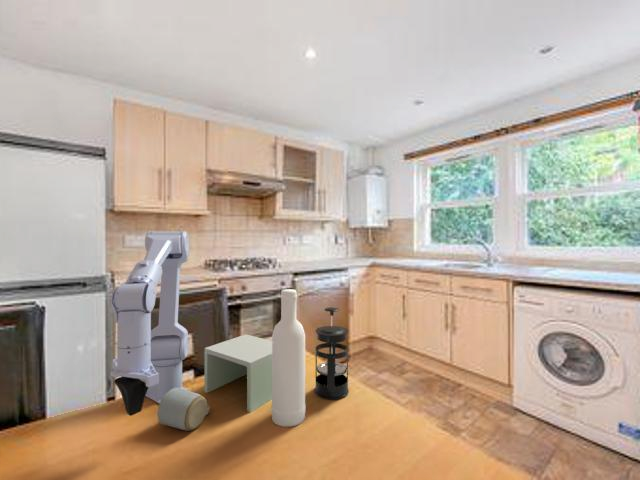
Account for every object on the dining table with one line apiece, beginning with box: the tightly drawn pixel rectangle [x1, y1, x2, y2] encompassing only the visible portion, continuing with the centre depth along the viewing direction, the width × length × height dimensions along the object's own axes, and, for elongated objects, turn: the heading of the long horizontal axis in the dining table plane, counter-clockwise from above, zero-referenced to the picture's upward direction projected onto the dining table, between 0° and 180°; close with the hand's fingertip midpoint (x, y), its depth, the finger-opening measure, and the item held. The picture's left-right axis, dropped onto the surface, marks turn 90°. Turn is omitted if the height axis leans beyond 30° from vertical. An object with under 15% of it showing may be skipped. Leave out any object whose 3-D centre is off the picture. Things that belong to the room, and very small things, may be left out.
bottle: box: [271, 288, 307, 428], centre depth 73 cm, size 8×8×30 cm
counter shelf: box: [203, 334, 272, 413], centre depth 86 cm, size 18×15×12 cm
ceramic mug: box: [156, 388, 211, 431], centre depth 71 cm, size 11×8×8 cm
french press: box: [314, 306, 350, 401], centre depth 85 cm, size 12×9×23 cm
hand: (134, 412), depth 61 cm, fingers closed
